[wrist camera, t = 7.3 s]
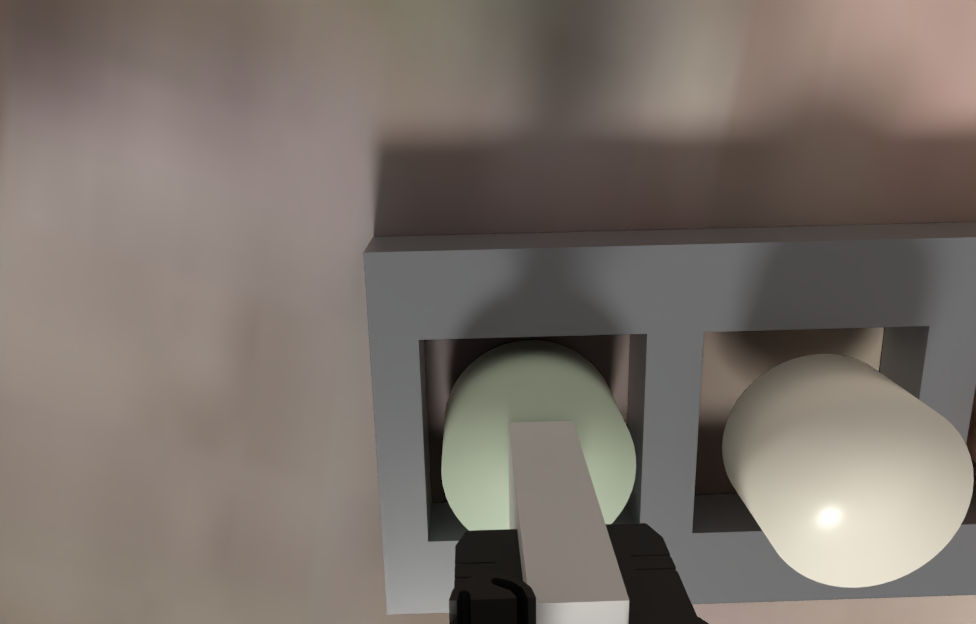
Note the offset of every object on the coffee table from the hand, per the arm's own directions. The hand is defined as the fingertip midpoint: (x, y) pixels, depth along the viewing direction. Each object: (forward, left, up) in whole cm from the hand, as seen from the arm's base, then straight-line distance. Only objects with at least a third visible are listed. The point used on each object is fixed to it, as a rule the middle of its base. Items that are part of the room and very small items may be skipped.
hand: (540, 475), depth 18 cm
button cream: (+7, 0, -1) cm, 7 cm away
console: (+7, 0, -4) cm, 8 cm away
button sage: (0, 0, -3) cm, 3 cm away
